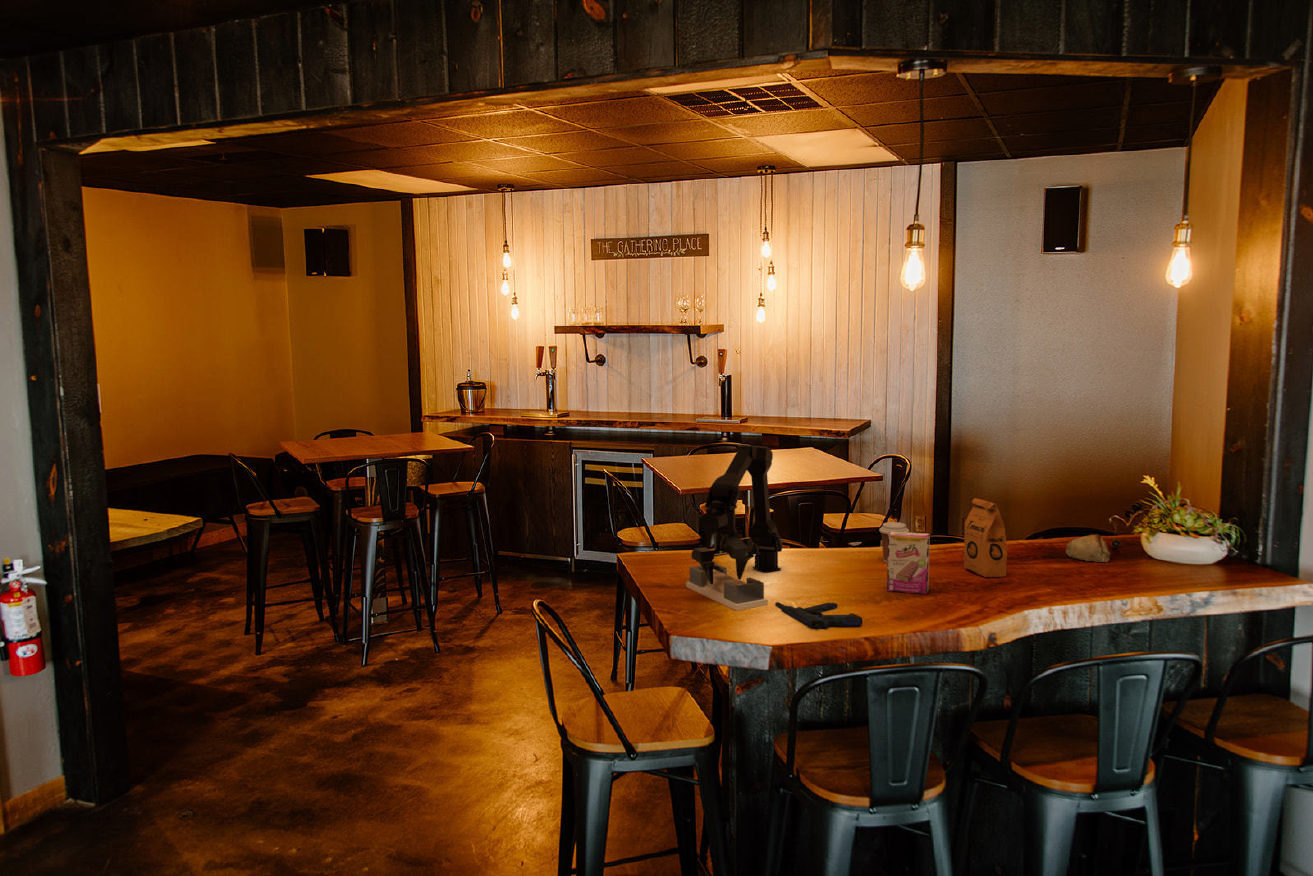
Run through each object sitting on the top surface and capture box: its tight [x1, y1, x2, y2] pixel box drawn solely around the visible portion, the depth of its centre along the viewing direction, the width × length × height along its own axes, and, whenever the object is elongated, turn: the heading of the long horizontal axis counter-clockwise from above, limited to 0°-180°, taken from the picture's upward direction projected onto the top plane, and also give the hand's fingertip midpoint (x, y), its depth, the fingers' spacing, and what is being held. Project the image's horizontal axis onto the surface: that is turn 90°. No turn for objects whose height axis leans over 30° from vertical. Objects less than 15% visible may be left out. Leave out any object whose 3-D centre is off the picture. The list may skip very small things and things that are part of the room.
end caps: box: [689, 562, 765, 604], centre depth 244 cm, size 25×9×4 cm, turn 28°
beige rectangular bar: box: [705, 569, 748, 594], centre depth 244 cm, size 20×4×4 cm, turn 28°
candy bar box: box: [886, 531, 931, 595], centre depth 245 cm, size 11×5×16 cm, turn 71°
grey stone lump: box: [1065, 533, 1111, 563], centre depth 278 cm, size 14×12×8 cm
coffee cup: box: [878, 521, 910, 564], centre depth 278 cm, size 9×9×12 cm
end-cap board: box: [685, 580, 769, 612], centre depth 245 cm, size 26×10×2 cm, turn 28°
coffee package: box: [963, 497, 1008, 578], centre depth 262 cm, size 10×12×22 cm
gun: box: [774, 601, 863, 630], centre depth 226 cm, size 24×3×15 cm
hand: (725, 581), depth 244 cm, fingers open, 9 cm apart
